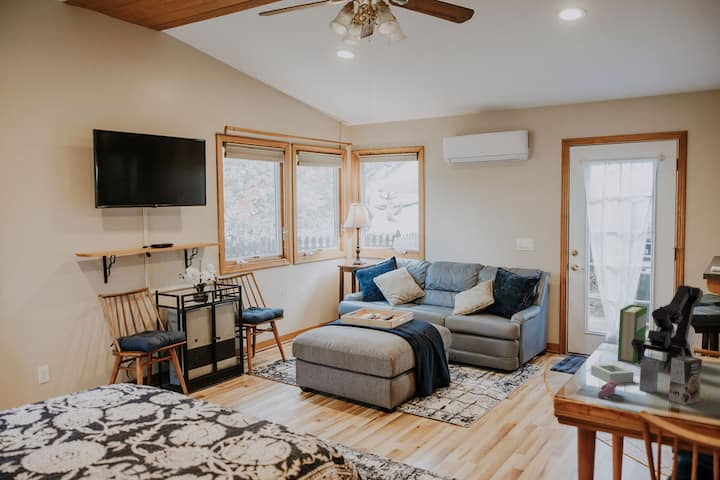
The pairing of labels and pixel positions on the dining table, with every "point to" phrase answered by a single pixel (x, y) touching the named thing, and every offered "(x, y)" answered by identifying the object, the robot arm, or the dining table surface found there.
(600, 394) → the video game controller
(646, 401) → the dining table surface
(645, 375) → the gray rectangular block
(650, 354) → the dining table surface
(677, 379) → the coffee box
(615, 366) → the well block
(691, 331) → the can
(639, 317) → the hardback book
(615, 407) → the dining table surface
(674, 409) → the dining table surface
